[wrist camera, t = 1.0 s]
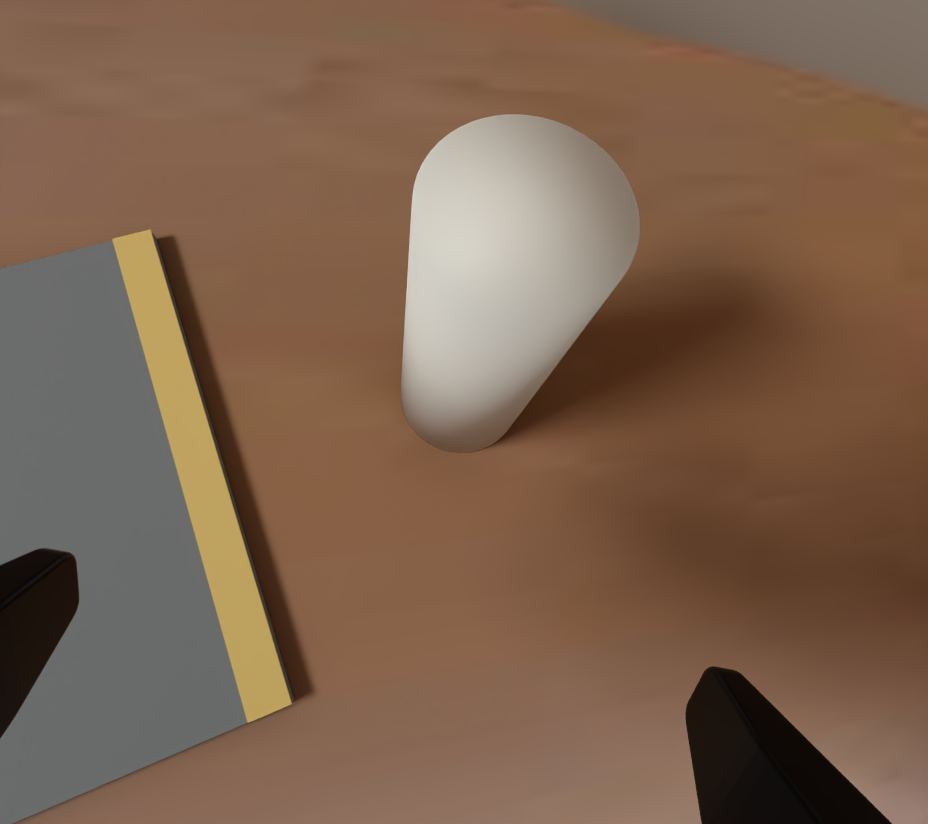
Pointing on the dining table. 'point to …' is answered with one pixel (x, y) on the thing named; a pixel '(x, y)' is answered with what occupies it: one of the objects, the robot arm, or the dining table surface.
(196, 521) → the mat
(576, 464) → the dining table surface
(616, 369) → the dining table surface
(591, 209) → the skittle
